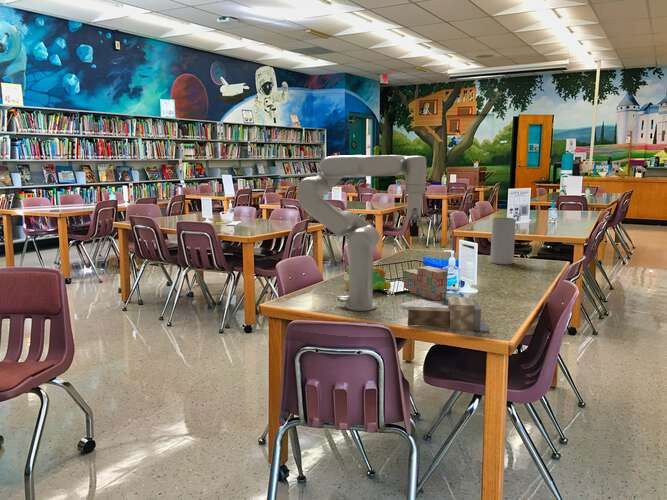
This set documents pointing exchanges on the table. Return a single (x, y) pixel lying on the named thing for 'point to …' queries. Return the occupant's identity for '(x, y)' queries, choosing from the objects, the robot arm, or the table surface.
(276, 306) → the table surface
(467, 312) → the maple block
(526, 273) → the table surface
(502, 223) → the cylinder vase
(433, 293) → the stack of blocks
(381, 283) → the turtle toy
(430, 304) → the calculator
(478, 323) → the grey piece
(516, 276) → the table surface
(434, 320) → the walnut bar
